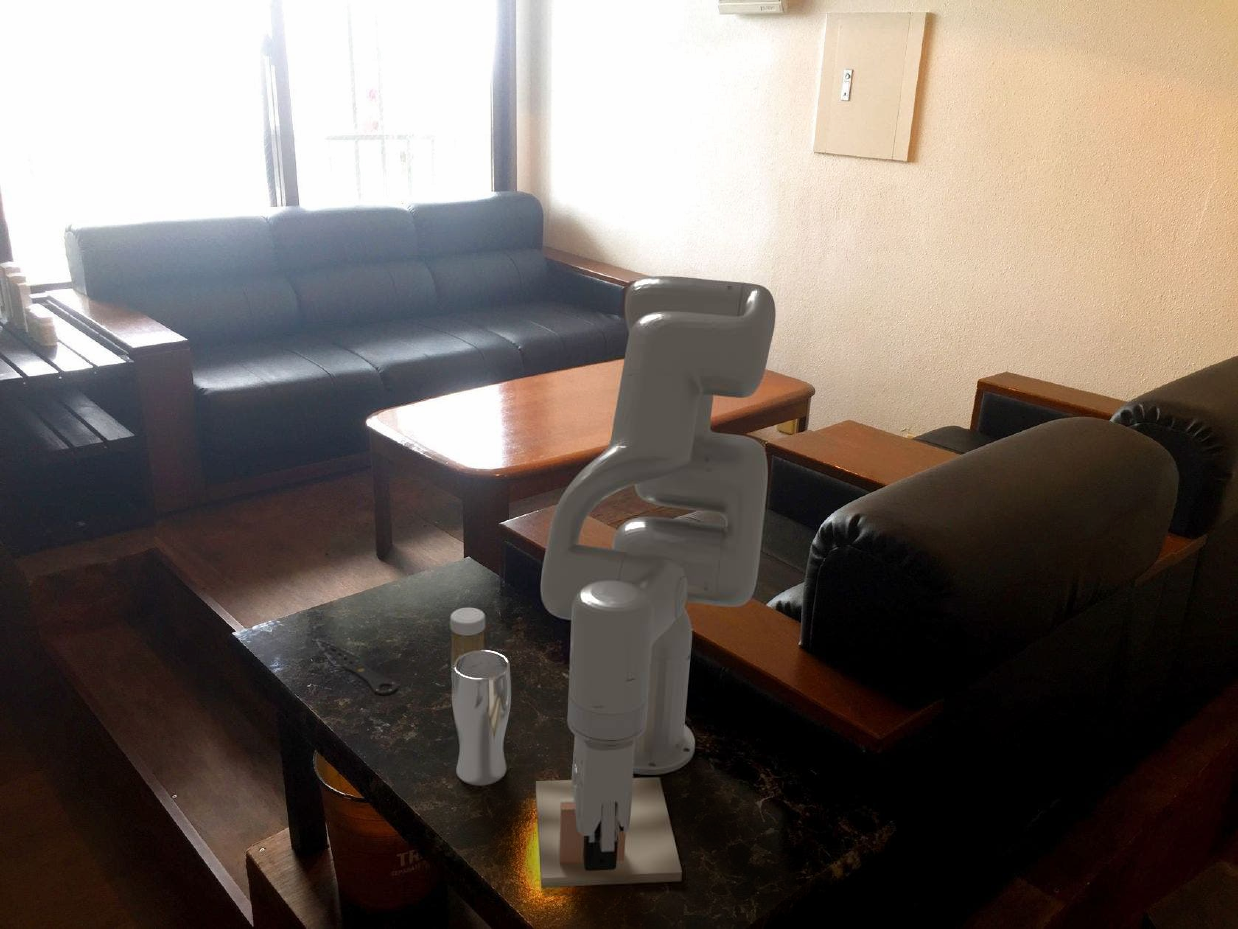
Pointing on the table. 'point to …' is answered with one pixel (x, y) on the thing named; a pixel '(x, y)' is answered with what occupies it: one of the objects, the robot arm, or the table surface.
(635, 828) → the board
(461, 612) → the sprinkles bottle
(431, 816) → the table surface
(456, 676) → the beer glass
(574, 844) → the tile
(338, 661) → the throwing knife
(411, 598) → the table surface
